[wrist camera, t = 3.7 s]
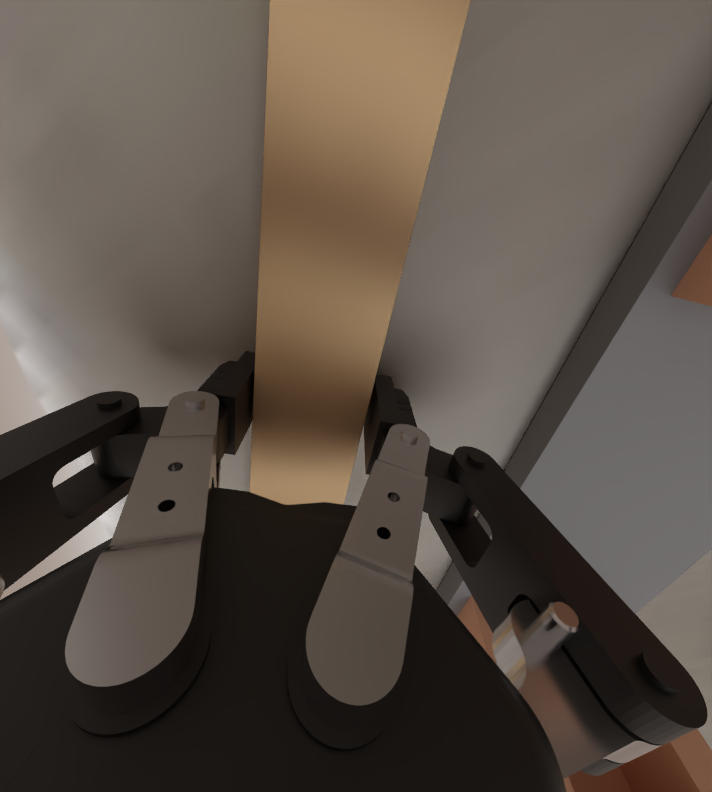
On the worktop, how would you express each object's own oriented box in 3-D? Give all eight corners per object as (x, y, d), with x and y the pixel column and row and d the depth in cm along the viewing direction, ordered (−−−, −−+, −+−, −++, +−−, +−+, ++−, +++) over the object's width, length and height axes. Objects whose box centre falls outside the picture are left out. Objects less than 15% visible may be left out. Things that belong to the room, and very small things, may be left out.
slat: (303, -57, 8) (278, -188, 5) (454, -11, 8) (499, -113, 6) (260, 542, 20) (245, 592, 17) (324, 550, 20) (319, 600, 17)
